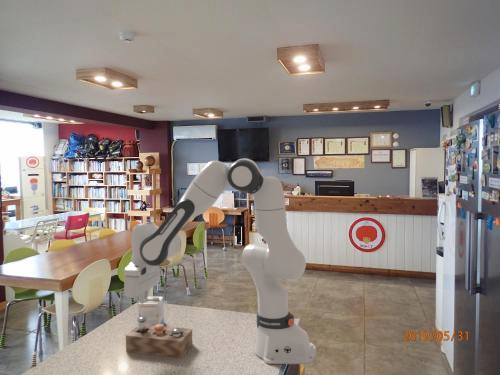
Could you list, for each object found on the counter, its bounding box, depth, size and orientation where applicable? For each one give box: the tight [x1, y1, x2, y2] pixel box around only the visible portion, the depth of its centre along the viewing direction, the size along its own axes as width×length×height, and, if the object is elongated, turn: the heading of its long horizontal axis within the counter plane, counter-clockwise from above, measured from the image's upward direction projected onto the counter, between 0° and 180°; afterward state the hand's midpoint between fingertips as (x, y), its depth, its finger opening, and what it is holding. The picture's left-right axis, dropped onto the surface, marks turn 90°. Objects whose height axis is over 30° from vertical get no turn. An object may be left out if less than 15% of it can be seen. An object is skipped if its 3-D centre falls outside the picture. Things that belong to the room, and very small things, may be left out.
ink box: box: [137, 296, 165, 325], centre depth 154 cm, size 9×8×13 cm
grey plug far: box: [136, 316, 147, 333], centre depth 138 cm, size 4×4×6 cm
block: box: [125, 324, 193, 359], centre depth 136 cm, size 22×10×6 cm, turn 76°
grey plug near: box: [172, 326, 182, 337], centre depth 134 cm, size 4×4×6 cm
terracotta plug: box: [154, 324, 165, 335], centre depth 136 cm, size 4×4×6 cm
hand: (143, 302), depth 136 cm, fingers closed
